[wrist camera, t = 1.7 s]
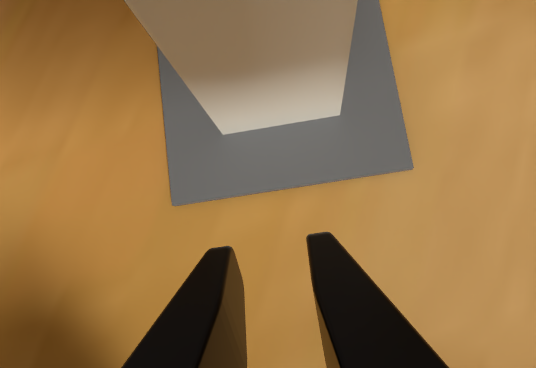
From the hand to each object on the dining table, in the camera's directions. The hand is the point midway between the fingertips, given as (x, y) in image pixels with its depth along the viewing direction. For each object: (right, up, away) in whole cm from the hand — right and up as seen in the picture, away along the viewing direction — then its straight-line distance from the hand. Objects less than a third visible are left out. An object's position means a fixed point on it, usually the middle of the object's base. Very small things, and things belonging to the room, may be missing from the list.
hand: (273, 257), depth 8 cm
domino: (0, +5, +14) cm, 15 cm away
